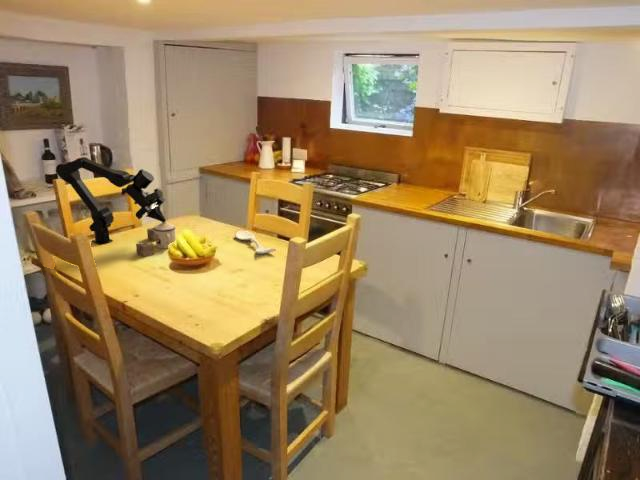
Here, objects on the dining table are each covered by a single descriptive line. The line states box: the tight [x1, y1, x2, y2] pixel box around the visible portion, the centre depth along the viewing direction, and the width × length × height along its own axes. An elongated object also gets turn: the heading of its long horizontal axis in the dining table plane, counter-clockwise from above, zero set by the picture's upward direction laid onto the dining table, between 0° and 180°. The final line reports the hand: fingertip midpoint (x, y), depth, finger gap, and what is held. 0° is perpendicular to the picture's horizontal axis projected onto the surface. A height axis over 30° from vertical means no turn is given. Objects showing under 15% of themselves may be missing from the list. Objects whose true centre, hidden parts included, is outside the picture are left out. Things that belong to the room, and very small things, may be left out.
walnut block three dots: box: [146, 226, 156, 242], centre depth 217 cm, size 5×5×5 cm
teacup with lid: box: [154, 220, 176, 250], centre depth 207 cm, size 12×9×12 cm
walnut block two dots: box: [135, 240, 155, 259], centre depth 198 cm, size 5×5×5 cm
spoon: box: [234, 230, 277, 255], centre depth 215 cm, size 9×32×4 cm, turn 30°
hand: (164, 221), depth 205 cm, fingers closed
